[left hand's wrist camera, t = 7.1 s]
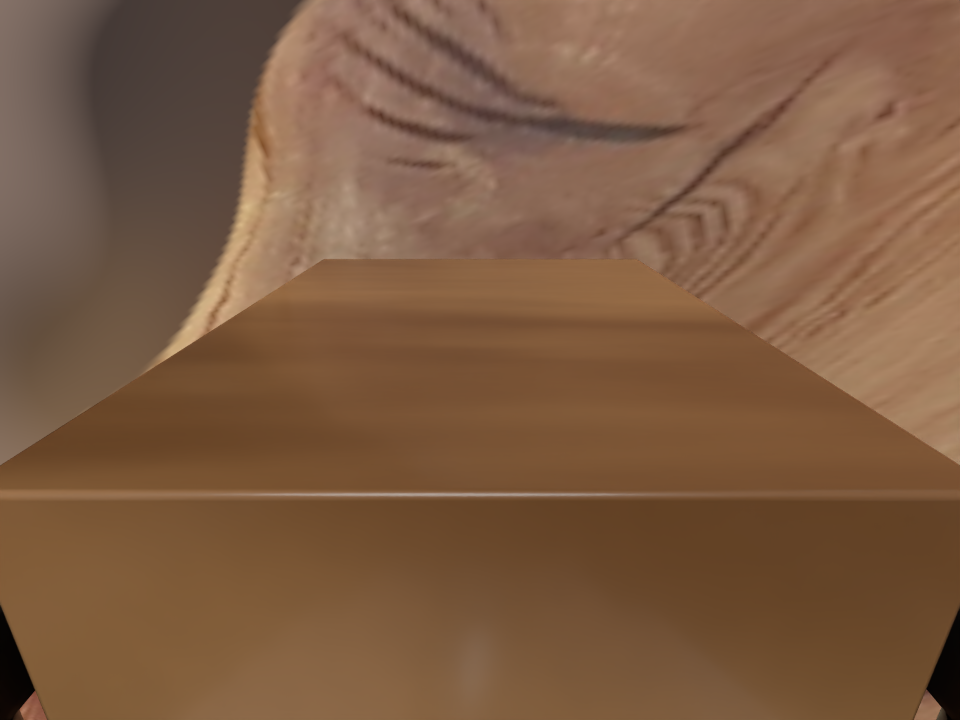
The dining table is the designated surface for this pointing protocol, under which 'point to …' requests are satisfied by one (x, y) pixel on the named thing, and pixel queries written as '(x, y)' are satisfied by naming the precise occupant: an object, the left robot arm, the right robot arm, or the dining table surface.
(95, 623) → the box
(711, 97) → the dining table surface
